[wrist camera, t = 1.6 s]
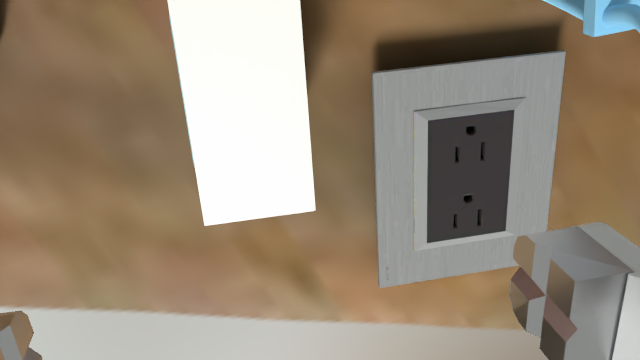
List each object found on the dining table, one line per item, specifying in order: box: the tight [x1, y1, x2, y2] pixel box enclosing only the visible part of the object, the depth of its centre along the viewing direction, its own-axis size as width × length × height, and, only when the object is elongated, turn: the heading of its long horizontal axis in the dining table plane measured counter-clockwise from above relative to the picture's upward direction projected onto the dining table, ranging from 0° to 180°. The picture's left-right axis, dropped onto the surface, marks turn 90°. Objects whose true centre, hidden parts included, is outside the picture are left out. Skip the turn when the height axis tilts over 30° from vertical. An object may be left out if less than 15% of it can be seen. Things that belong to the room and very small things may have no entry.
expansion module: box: [167, 0, 315, 226], centre depth 25 cm, size 5×10×9 cm, turn 4°
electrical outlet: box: [372, 50, 566, 288], centre depth 34 cm, size 13×10×2 cm
